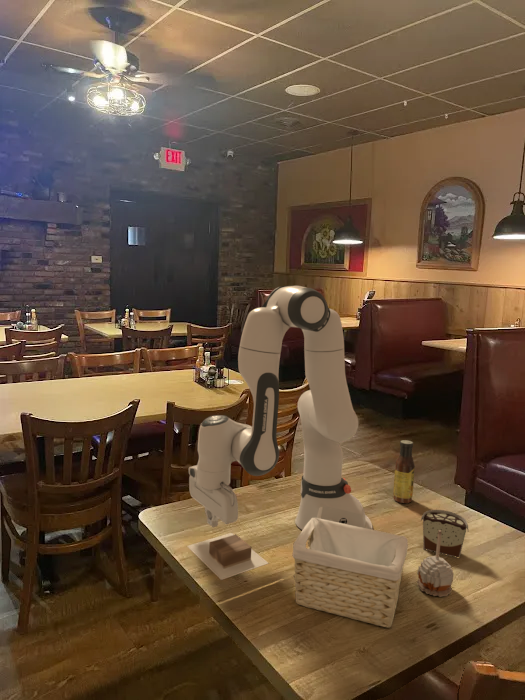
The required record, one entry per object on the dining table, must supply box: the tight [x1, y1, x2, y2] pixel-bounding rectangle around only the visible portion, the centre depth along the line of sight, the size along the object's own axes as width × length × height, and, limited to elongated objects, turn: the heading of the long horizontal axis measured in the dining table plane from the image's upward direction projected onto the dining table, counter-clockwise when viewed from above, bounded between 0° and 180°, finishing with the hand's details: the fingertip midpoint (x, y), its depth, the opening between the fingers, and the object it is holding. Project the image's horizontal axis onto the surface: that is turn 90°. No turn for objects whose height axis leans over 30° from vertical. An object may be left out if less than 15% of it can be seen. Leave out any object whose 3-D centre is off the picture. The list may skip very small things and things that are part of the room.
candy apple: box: [416, 530, 454, 598], centre depth 131 cm, size 8×8×15 cm
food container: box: [420, 509, 469, 558], centre depth 150 cm, size 12×6×10 cm, turn 65°
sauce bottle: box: [392, 439, 416, 504], centre depth 178 cm, size 6×6×20 cm
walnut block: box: [209, 534, 252, 569], centre depth 141 cm, size 4×8×8 cm
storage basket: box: [292, 518, 409, 628], centre depth 125 cm, size 24×16×15 cm
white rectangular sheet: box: [186, 532, 269, 581], centre depth 142 cm, size 18×14×1 cm
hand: (212, 524), depth 148 cm, fingers closed
